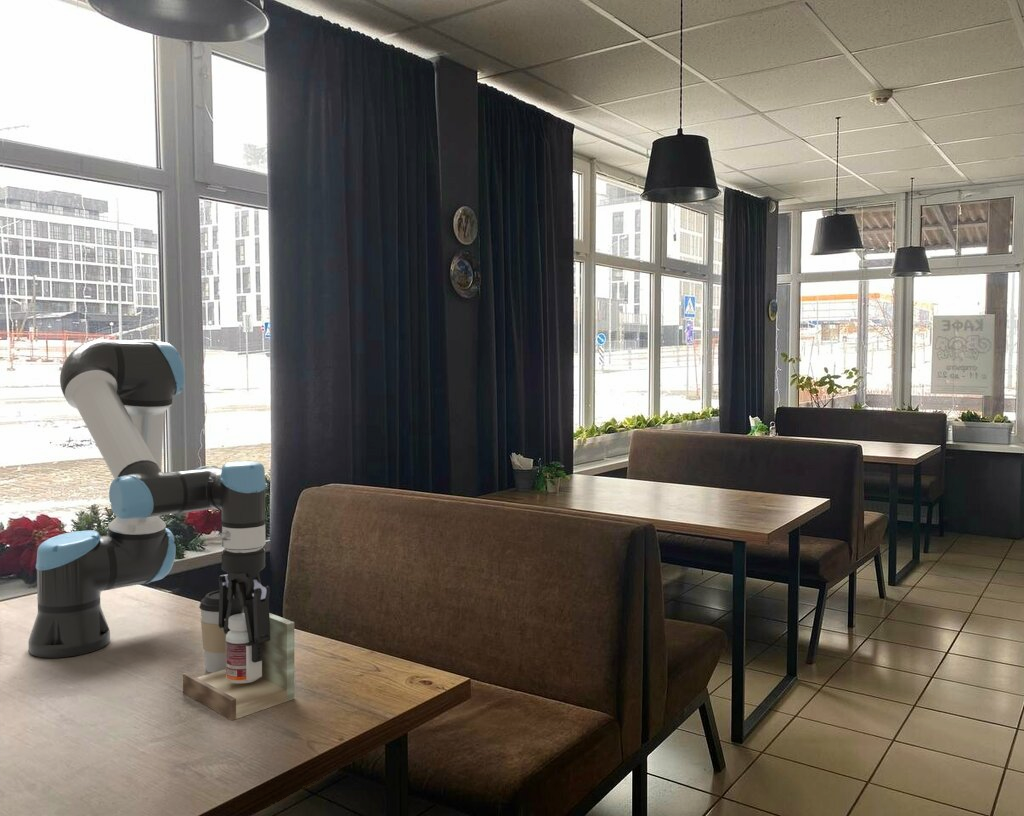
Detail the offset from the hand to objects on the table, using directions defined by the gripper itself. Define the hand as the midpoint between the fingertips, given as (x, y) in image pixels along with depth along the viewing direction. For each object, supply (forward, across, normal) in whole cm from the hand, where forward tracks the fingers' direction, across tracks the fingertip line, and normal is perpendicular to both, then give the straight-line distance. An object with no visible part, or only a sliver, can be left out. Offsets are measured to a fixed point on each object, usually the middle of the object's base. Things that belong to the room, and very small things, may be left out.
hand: (243, 672), depth 150 cm
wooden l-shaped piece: (+4, 0, -1) cm, 4 cm away
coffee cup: (+4, -14, +4) cm, 16 cm away
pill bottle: (+1, 0, 0) cm, 1 cm away
